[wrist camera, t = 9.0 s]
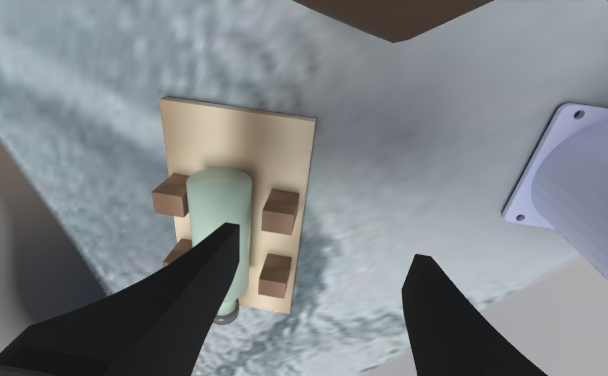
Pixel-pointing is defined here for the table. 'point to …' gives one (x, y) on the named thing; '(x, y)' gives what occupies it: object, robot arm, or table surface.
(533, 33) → the table surface
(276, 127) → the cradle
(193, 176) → the bottle
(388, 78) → the table surface
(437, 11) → the beer bottle
